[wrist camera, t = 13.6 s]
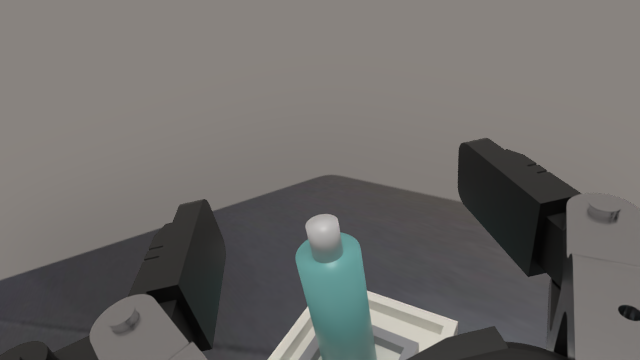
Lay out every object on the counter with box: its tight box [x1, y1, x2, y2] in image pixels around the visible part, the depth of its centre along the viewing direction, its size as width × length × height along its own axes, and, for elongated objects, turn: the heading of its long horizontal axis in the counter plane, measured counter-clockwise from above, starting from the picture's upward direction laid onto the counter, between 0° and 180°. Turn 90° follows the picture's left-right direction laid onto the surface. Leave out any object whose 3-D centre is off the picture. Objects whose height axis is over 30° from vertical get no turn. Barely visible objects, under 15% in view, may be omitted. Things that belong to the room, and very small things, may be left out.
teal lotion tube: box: [296, 214, 377, 360], centre depth 28 cm, size 5×5×16 cm
